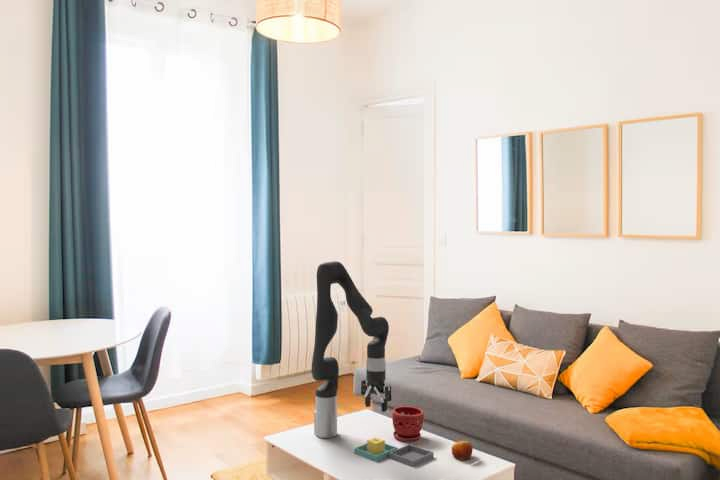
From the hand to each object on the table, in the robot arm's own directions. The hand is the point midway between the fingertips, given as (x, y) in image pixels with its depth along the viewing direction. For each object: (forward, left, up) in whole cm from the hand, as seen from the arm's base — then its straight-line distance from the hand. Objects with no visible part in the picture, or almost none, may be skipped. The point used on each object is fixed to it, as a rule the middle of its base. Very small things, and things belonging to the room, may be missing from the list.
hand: (375, 409), depth 238 cm
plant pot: (-2, +22, -18) cm, 29 cm away
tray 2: (+13, +6, -18) cm, 23 cm away
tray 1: (0, 0, -18) cm, 18 cm away
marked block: (0, 0, -18) cm, 18 cm away
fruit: (+27, +20, -18) cm, 38 cm away
